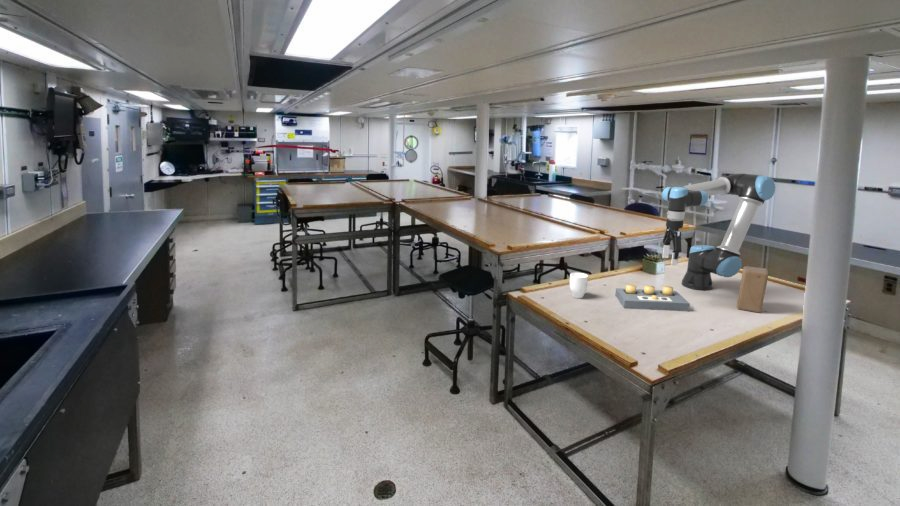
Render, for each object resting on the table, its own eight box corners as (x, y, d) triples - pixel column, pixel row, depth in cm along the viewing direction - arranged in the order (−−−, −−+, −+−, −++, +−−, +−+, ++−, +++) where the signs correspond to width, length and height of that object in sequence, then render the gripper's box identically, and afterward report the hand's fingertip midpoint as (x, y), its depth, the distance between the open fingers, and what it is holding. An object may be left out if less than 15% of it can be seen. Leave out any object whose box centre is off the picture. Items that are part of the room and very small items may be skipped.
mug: (589, 299, 237) (590, 276, 234) (573, 300, 236) (574, 278, 233) (579, 291, 248) (580, 270, 245) (564, 292, 247) (565, 271, 244)
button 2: (670, 294, 237) (671, 286, 236) (673, 297, 232) (674, 289, 231) (660, 294, 237) (661, 285, 236) (663, 297, 233) (664, 289, 232)
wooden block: (760, 313, 220) (768, 273, 215) (736, 309, 225) (743, 270, 220) (760, 307, 229) (768, 268, 223) (736, 303, 234) (743, 265, 228)
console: (675, 298, 240) (676, 290, 239) (688, 311, 222) (689, 303, 221) (615, 295, 243) (616, 288, 242) (623, 308, 226) (624, 300, 225)
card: (668, 298, 228) (669, 295, 228) (672, 301, 224) (672, 298, 223) (637, 296, 230) (637, 293, 230) (640, 300, 225) (640, 297, 225)
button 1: (633, 292, 239) (634, 284, 238) (636, 296, 234) (637, 287, 233) (624, 292, 239) (625, 284, 238) (626, 295, 235) (627, 287, 234)
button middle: (652, 293, 238) (653, 285, 237) (654, 296, 233) (656, 288, 232) (642, 293, 238) (643, 285, 237) (645, 296, 234) (646, 288, 233)
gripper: (659, 214, 238) (654, 254, 243) (675, 224, 214) (669, 268, 219) (674, 215, 237) (669, 255, 242) (693, 224, 213) (686, 268, 218)
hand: (669, 261), depth 231 cm, fingers open, 13 cm apart
